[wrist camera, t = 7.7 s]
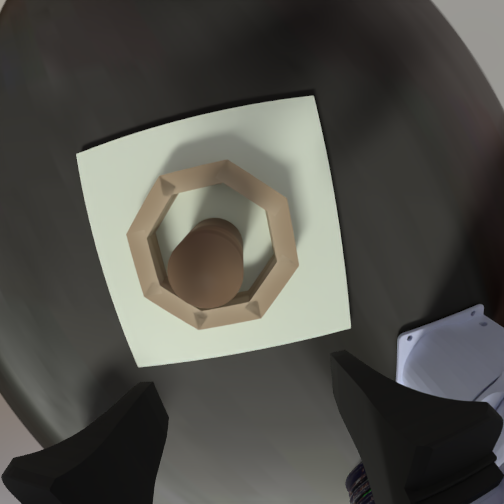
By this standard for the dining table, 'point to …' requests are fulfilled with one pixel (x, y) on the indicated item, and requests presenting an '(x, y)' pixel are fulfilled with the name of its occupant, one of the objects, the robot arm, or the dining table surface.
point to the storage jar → (359, 486)
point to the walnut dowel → (208, 264)
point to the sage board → (231, 209)
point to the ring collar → (151, 261)
